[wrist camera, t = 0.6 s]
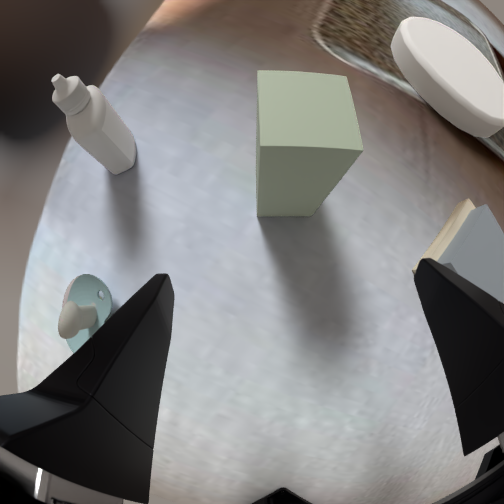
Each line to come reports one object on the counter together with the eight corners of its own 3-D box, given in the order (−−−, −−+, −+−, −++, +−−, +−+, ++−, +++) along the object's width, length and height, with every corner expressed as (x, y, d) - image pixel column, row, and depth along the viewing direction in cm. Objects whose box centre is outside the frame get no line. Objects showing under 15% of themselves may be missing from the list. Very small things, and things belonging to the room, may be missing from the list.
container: (445, 146, 24) (467, 128, 20) (363, 29, 26) (372, 6, 22) (513, 134, 25) (530, 122, 20) (448, 39, 27) (459, 24, 23)
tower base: (497, 270, 23) (511, 269, 20) (457, 338, 22) (471, 341, 19) (455, 204, 24) (468, 198, 21) (408, 270, 23) (422, 268, 20)
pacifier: (62, 336, 22) (109, 359, 21) (20, 344, 16) (69, 376, 15) (74, 265, 23) (123, 282, 22) (30, 257, 16) (82, 279, 16)
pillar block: (307, 166, 23) (346, 76, 11) (311, 216, 23) (363, 150, 11) (255, 166, 23) (257, 70, 11) (256, 216, 23) (260, 145, 11)
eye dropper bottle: (147, 125, 24) (96, 43, 12) (132, 177, 23) (60, 107, 11) (111, 126, 24) (53, 55, 12) (95, 175, 23) (18, 116, 12)
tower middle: (504, 268, 20) (520, 267, 18) (471, 326, 20) (488, 328, 17) (471, 210, 21) (486, 203, 18) (433, 265, 20) (450, 262, 18)
